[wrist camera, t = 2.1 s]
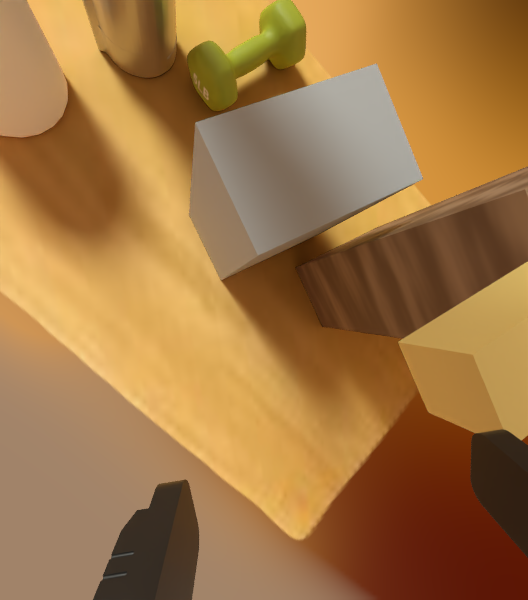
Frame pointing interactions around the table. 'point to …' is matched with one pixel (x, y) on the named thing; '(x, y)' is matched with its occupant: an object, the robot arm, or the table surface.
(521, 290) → the rail
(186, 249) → the table surface
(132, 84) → the table surface
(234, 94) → the dumbbell
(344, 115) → the block
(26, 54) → the white jar
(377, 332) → the stand
